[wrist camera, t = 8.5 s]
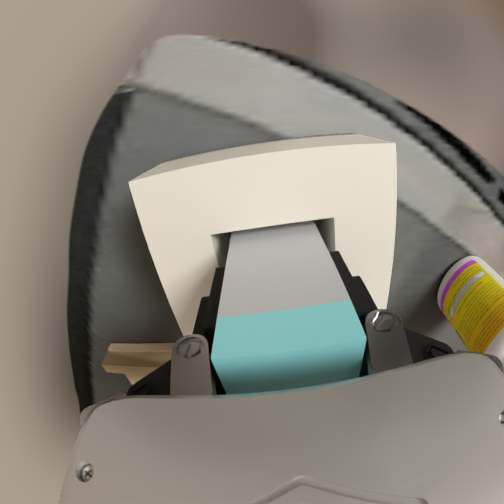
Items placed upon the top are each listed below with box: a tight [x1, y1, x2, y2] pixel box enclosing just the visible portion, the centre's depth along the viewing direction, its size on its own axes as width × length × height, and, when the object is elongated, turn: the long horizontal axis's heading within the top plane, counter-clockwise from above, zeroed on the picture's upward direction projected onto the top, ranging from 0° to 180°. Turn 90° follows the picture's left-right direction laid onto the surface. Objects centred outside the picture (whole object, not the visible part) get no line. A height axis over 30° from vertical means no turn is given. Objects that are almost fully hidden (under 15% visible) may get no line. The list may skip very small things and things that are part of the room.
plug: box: [211, 220, 367, 394], centre depth 11 cm, size 4×4×8 cm
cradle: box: [101, 343, 175, 385], centre depth 25 cm, size 8×8×3 cm
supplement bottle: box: [437, 256, 504, 373], centre depth 15 cm, size 7×7×13 cm
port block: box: [129, 133, 397, 336], centre depth 16 cm, size 12×12×6 cm
